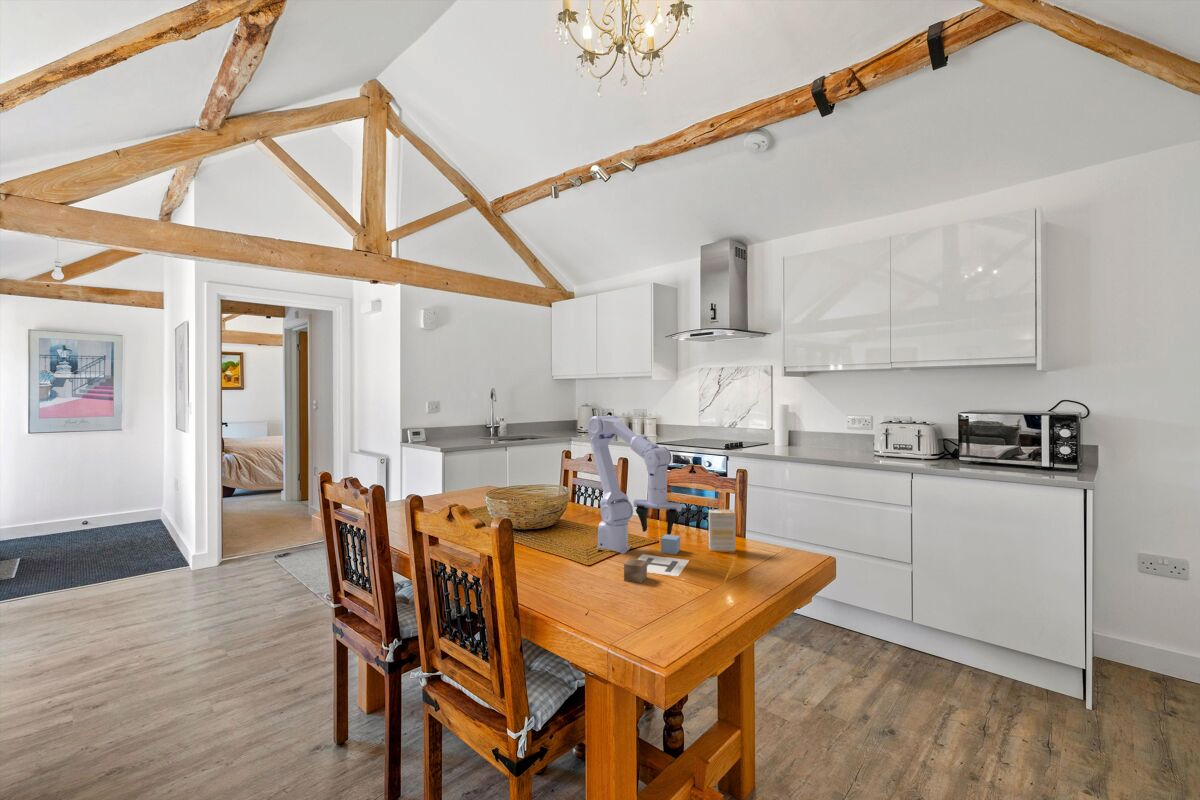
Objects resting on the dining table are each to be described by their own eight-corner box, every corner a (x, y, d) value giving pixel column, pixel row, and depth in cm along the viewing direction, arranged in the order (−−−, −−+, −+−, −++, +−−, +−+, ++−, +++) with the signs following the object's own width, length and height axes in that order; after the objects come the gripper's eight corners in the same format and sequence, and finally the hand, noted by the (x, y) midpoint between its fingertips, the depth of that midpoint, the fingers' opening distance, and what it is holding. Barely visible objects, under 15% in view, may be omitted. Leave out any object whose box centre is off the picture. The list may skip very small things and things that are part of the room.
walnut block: (624, 582, 149) (624, 564, 149) (629, 576, 154) (630, 558, 154) (641, 584, 148) (641, 566, 147) (646, 578, 152) (647, 560, 152)
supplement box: (733, 548, 180) (733, 509, 179) (735, 553, 175) (736, 512, 174) (707, 547, 180) (708, 508, 180) (709, 552, 176) (709, 512, 175)
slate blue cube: (660, 553, 174) (661, 538, 174) (665, 549, 179) (665, 534, 179) (676, 555, 172) (676, 540, 172) (679, 551, 177) (680, 535, 177)
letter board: (627, 570, 158) (627, 569, 158) (642, 555, 172) (642, 554, 172) (678, 577, 153) (678, 576, 153) (689, 561, 167) (689, 560, 167)
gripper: (630, 488, 163) (629, 532, 164) (677, 492, 158) (677, 538, 158) (637, 484, 170) (637, 527, 170) (683, 487, 164) (682, 532, 165)
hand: (656, 532), depth 165 cm, fingers open, 7 cm apart
